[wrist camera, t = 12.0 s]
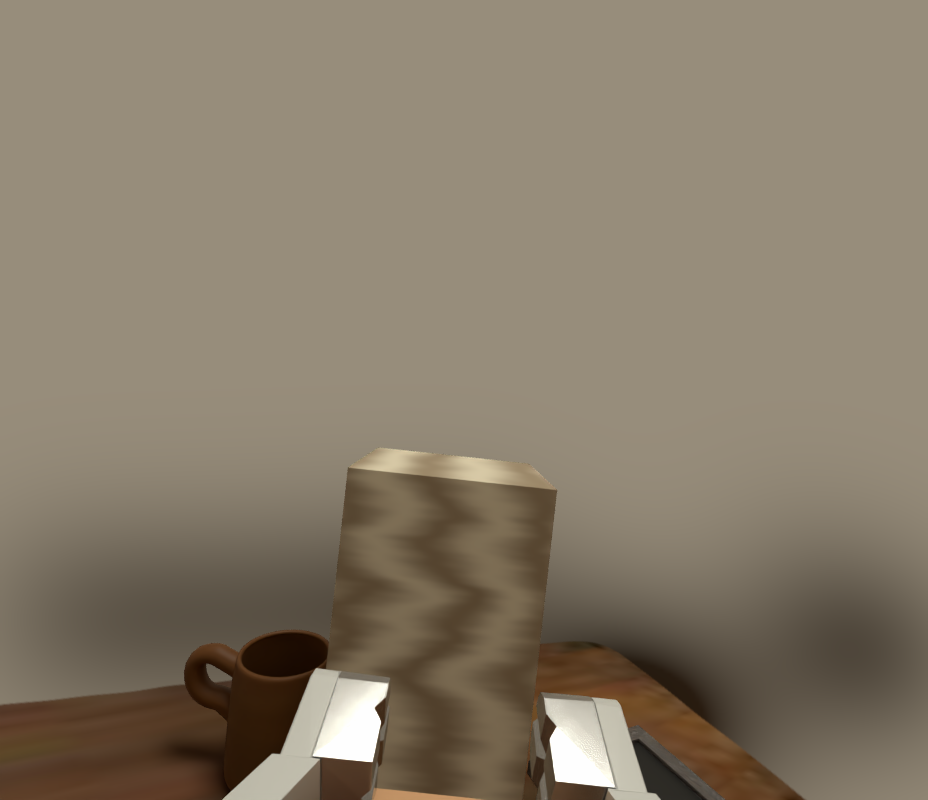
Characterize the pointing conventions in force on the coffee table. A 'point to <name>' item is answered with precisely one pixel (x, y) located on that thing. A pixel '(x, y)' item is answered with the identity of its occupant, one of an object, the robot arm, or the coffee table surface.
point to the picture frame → (665, 771)
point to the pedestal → (446, 613)
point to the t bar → (413, 796)
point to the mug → (256, 692)
